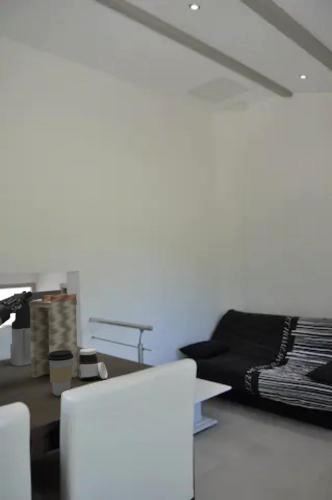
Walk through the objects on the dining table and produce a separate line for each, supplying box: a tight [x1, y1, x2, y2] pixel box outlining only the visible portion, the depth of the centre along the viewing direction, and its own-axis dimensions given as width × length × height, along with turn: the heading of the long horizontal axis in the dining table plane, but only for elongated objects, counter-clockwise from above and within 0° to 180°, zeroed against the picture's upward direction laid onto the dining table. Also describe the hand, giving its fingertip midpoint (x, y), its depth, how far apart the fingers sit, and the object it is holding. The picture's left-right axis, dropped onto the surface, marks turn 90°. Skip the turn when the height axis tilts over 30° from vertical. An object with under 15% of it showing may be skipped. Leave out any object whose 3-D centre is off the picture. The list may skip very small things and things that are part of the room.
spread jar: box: [78, 347, 108, 381], centre depth 176 cm, size 12×11×12 cm
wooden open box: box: [29, 293, 79, 383], centre depth 181 cm, size 13×16×34 cm
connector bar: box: [13, 289, 63, 301], centre depth 181 cm, size 21×3×3 cm, turn 140°
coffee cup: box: [47, 350, 74, 397], centre depth 157 cm, size 9×9×15 cm
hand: (28, 292), depth 177 cm, fingers closed on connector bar, 3 cm apart
